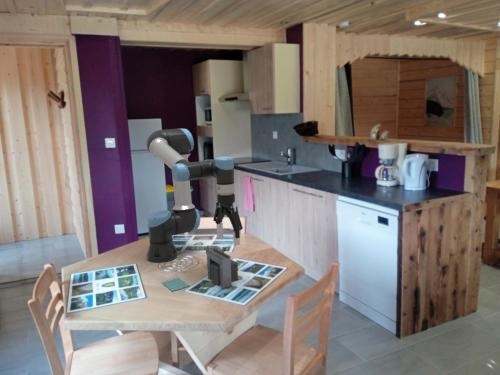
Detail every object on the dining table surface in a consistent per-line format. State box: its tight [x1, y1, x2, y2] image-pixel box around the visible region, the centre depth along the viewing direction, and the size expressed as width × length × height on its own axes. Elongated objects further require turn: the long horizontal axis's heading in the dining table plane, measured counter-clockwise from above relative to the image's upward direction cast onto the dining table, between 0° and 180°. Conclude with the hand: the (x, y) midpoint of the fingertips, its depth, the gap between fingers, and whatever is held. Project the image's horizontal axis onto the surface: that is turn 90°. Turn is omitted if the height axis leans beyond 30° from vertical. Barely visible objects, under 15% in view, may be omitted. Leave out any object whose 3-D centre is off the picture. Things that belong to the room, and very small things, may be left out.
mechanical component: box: [203, 245, 227, 255], centre depth 196 cm, size 3×10×10 cm, turn 78°
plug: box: [210, 259, 239, 287], centre depth 180 cm, size 6×12×8 cm, turn 124°
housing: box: [205, 248, 233, 289], centre depth 178 cm, size 14×4×13 cm, turn 34°
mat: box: [161, 277, 191, 292], centre depth 178 cm, size 11×8×1 cm
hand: (228, 241), depth 179 cm, fingers open, 13 cm apart
